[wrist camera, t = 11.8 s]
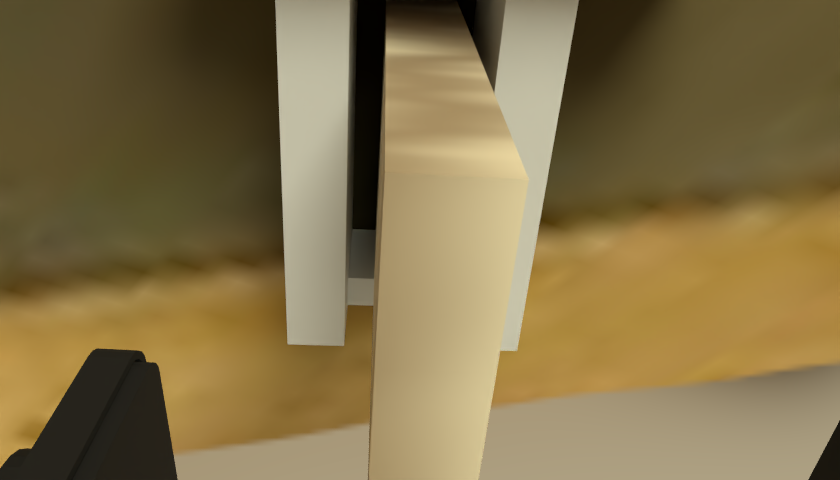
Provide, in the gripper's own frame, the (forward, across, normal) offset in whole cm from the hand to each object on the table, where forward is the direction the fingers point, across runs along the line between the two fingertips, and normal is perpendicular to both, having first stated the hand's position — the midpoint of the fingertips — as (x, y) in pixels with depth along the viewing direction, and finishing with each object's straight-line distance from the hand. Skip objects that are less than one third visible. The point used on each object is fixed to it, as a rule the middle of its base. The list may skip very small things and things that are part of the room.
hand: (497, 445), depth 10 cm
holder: (+14, +1, +1) cm, 14 cm away
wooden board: (+14, +1, 0) cm, 14 cm away
